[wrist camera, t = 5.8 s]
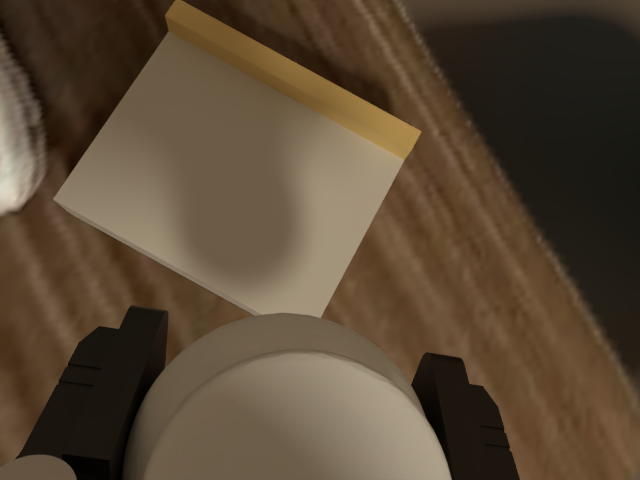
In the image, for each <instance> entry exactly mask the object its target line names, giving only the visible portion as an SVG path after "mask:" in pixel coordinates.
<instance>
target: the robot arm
mask: <svg viewBox="0 0 640 480" xmlns="http://www.w3.org/2000/svg"><path fill="white" fill-rule="evenodd" d="M167 330H168V311H166V310H160V309H154V308H147V307H141V306H135V305H131V306H130V307H129V309H128V311H127V313H126V315H125V317H124V320H123V322H122V324H121V326H120V328H119V329H114V328H108V327H101V326H99V327H98V328H96V329H95V330H94V331H93V332H91V333H90V334H89V335H88V336H87V337H85V338H84V339H83V340H82V341H80V342H79V344H78V346H77V347H76V349H75V351H74V353H73V355H72V357H71V359H70V361H69V363H68V366H67V367H66V368H65V370H64V372H63V374H62V376H61V378H60V379H59V383H58V385H56V387H55V389H54V391H53V393H52V395H51V396H50V398H49V400H48V402H47V404H46V406H45V408H44V410H43V412H42V413H41V415H40V417H39V419H38V421H37V423H36V425H35V427H34V429H33V430H32V432H31V434H30V436H29V438H28V440H27V442H26V444H25V446H24V447H23V449H22V451H21V452H20V454H19V455H18V457H17V458H16V459H15V460H13V461H11V462H9V463H7V464H5V465H4V466H2V467H1V468H0V480H122V469H123V460H124V454H125V449H126V445H127V440H128V436H129V433H130V430H131V427H132V424H133V421H134V419H135V416H136V414H137V412H138V409H139V407H140V405H141V403H142V402H143V400H144V398H145V396H146V394H147V393H148V391H149V390H150V388H151V387H152V385H153V383H154V382H155V380H156V379H157V377H158V376H159V375H160V374H161V373H162V371H163V370H164V369H165V360H166V345H167ZM411 386H412V388H413V390H414V392H415V394H416V396H417V397H418V399H419V401H420V404H421V406H422V409H423V411H424V414H425V416H426V419H427V420H428V422H429V424H430V425H431V427H432V428H433V430H434V432H435V434H436V436H437V439H438V441H439V443H440V445H441V447H442V450H443V453H444V455H445V458H446V460H447V463H448V467H449V471H450V475H451V478H452V480H520V479H519V475H518V472H517V469H516V465H515V462H514V459H513V455H512V452H511V451H510V450H509V448H510V445H509V442H508V439H507V436H506V433H504V426H503V422H502V419H501V416H500V412H499V409H498V406H497V405H496V404H495V402H494V401H493V400H492V398H491V397H490V395H489V394H488V393H487V391H486V390H485V389H484V387H483V386H479V385H472V384H469V381H468V377H467V373H466V370H465V366H464V362H463V360H462V359H461V358H459V357H453V356H447V355H440V354H434V353H428V352H427V353H425V354H424V355H423V357H422V359H421V361H420V364H419V366H418V369H417V372H416V374H415V377H414V379H413V382H412V384H411Z"/></svg>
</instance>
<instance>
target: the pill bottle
mask: <svg viewBox="0 0 640 480" xmlns="http://www.w3.org/2000/svg"><path fill="white" fill-rule="evenodd" d="M122 480H452V478H451V475H450V471H449V467H448V463H447V460H446V458H445V455H444V453H443V450H442V447H441V445H440V443H439V441H438V439H437V436H436V434H435V432H434V430H433V428H432V427H431V425H430V424H429V422H428V420H427V419H426V416H425V414H424V411H423V409H422V406H421V404H420V401H419V399H418V397H417V396H416V394H415V392H414V390H413V388H412V386H411V384H410V383H409V381H408V380H407V378H406V377H405V375H404V374H403V373H402V371H401V370H400V369H399V368H398V367H397V365H396V364H395V363H394V362H393V361H392V360H391V359H390V358H389V357H388V356H387V355H386V354H385V353H384V352H383V351H382V350H381V349H380V348H378V347H377V346H376V345H374V344H373V343H372V342H370V341H369V340H367V339H366V338H365V337H363V336H361V335H360V334H358V333H356V332H354V331H353V330H351V329H349V328H347V327H345V326H342V325H340V324H337V323H335V322H332V321H330V320H326V319H322V318H318V317H315V316H310V315H302V314H292V313H275V314H265V315H257V316H253V317H248V318H244V319H241V320H237V321H233V322H230V323H228V324H226V325H224V326H222V327H219V328H217V329H215V330H213V331H211V332H209V333H208V334H206V335H204V336H203V337H201V338H200V339H198V340H196V341H195V342H193V343H192V344H191V345H189V346H188V347H187V348H186V349H185V350H183V351H182V352H181V353H180V354H179V355H177V356H176V357H175V358H174V359H173V360H172V361H171V362H170V363H169V365H168V366H167V367H166V368H165V369H164V370H163V371H162V373H161V374H160V375H159V376H158V377H157V379H156V380H155V382H154V383H153V385H152V387H151V388H150V390H149V391H148V393H147V394H146V396H145V398H144V400H143V402H142V403H141V405H140V407H139V409H138V412H137V414H136V416H135V419H134V421H133V424H132V427H131V430H130V433H129V436H128V440H127V445H126V449H125V454H124V460H123V469H122Z"/></svg>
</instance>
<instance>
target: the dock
mask: <svg viewBox="0 0 640 480" xmlns="http://www.w3.org/2000/svg"><path fill="white" fill-rule="evenodd" d="M165 19H166V22H167V26H168V30H169V32H168V33H167V35H166V36H165V37H164V39H163V40H162V42H161V43H160V45H159V46H158V48H157V49H156V50H155V52H154V53H153V55H152V56H151V58H150V59H149V61H148V62H147V64H146V65H145V66H144V68H143V69H142V71H141V72H140V74H139V75H138V77H137V78H136V80H135V81H134V82H133V84H132V85H131V87H130V88H129V90H128V91H127V93H126V94H125V95H124V97H123V98H122V100H121V101H120V103H119V104H118V106H117V107H116V109H115V110H114V111H113V113H112V114H111V116H110V117H109V119H108V120H107V122H106V123H105V125H104V126H103V127H102V129H101V130H100V132H99V133H98V135H97V136H96V138H95V139H94V141H93V142H92V143H91V145H90V146H89V148H88V149H87V151H86V152H85V154H84V155H83V156H82V158H81V159H80V161H79V162H78V164H77V165H76V167H75V168H74V170H73V171H72V172H71V174H70V175H69V177H68V178H67V180H66V181H65V183H64V184H63V186H62V187H61V188H60V190H59V191H58V193H57V194H56V196H55V197H54V199H53V200H54V201H56V202H57V203H58V204H59V205H61V206H62V207H63V208H64V209H66V210H67V211H68V212H69V213H71V214H72V215H74V216H75V217H77V218H79V219H81V220H83V221H84V222H86V223H88V224H90V225H92V226H94V227H95V228H97V229H99V230H101V231H103V232H104V233H106V234H108V235H110V236H112V237H113V238H115V239H117V240H119V241H121V242H123V243H124V244H126V245H128V246H130V247H132V248H133V249H135V250H137V251H139V252H141V253H142V254H144V255H146V256H148V257H150V258H152V259H153V260H155V261H157V262H159V263H161V264H162V265H164V266H166V267H168V268H170V269H172V270H173V271H175V272H177V273H179V274H181V275H182V276H184V277H186V278H188V279H190V280H191V281H193V282H195V283H197V284H199V285H201V286H202V287H204V288H206V289H208V290H210V291H211V292H213V293H215V294H217V295H219V296H220V297H222V298H224V299H226V300H228V301H230V302H231V303H233V304H235V305H237V306H239V307H240V308H242V309H244V310H246V311H248V312H249V313H251V314H253V315H255V316H257V315H265V314H275V313H292V314H302V315H310V316H315V317H318V318H321V316H322V314H323V312H324V310H325V308H326V306H327V304H328V303H329V301H330V299H331V297H332V295H333V293H334V291H335V289H336V287H337V286H338V284H339V282H340V280H341V278H342V276H343V274H344V272H345V271H346V269H347V267H348V265H349V263H350V261H351V259H352V257H353V256H354V254H355V252H356V250H357V248H358V246H359V244H360V242H361V241H362V239H363V237H364V235H365V233H366V231H367V229H368V227H369V226H370V224H371V222H372V220H373V218H374V216H375V214H376V212H377V211H378V209H379V207H380V205H381V203H382V201H383V199H384V197H385V196H386V194H387V192H388V190H389V188H390V186H391V184H392V182H393V181H394V179H395V177H396V175H397V173H398V171H399V169H400V167H401V166H402V164H403V162H404V160H405V159H406V157H407V156H408V154H409V153H410V152H411V150H412V148H413V146H414V144H415V143H416V141H417V139H418V137H419V135H420V133H421V131H420V130H418V129H416V128H414V127H412V126H410V125H409V124H407V123H405V122H403V121H401V120H400V119H398V118H396V117H394V116H392V115H390V114H389V113H387V112H385V111H383V110H381V109H379V108H378V107H376V106H374V105H372V104H370V103H368V102H367V101H365V100H363V99H361V98H359V97H357V96H356V95H354V94H352V93H350V92H348V91H346V90H345V89H343V88H341V87H339V86H337V85H336V84H334V83H332V82H330V81H328V80H326V79H325V78H323V77H321V76H319V75H317V74H315V73H314V72H312V71H310V70H308V69H306V68H304V67H303V66H301V65H299V64H297V63H295V62H293V61H292V60H290V59H288V58H286V57H284V56H282V55H281V54H279V53H277V52H275V51H273V50H271V49H270V48H268V47H266V46H264V45H262V44H261V43H259V42H257V41H255V40H253V39H251V38H250V37H248V36H246V35H244V34H242V33H240V32H239V31H237V30H235V29H233V28H231V27H229V26H228V25H226V24H224V23H222V22H220V21H218V20H217V19H215V18H213V17H211V16H209V15H207V14H206V13H204V12H202V11H200V10H198V9H196V8H195V7H193V6H191V5H189V4H187V3H186V2H184V1H182V0H175V1H174V3H173V4H172V6H171V7H170V9H169V10H168V12H167V13H166V14H165Z"/></svg>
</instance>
